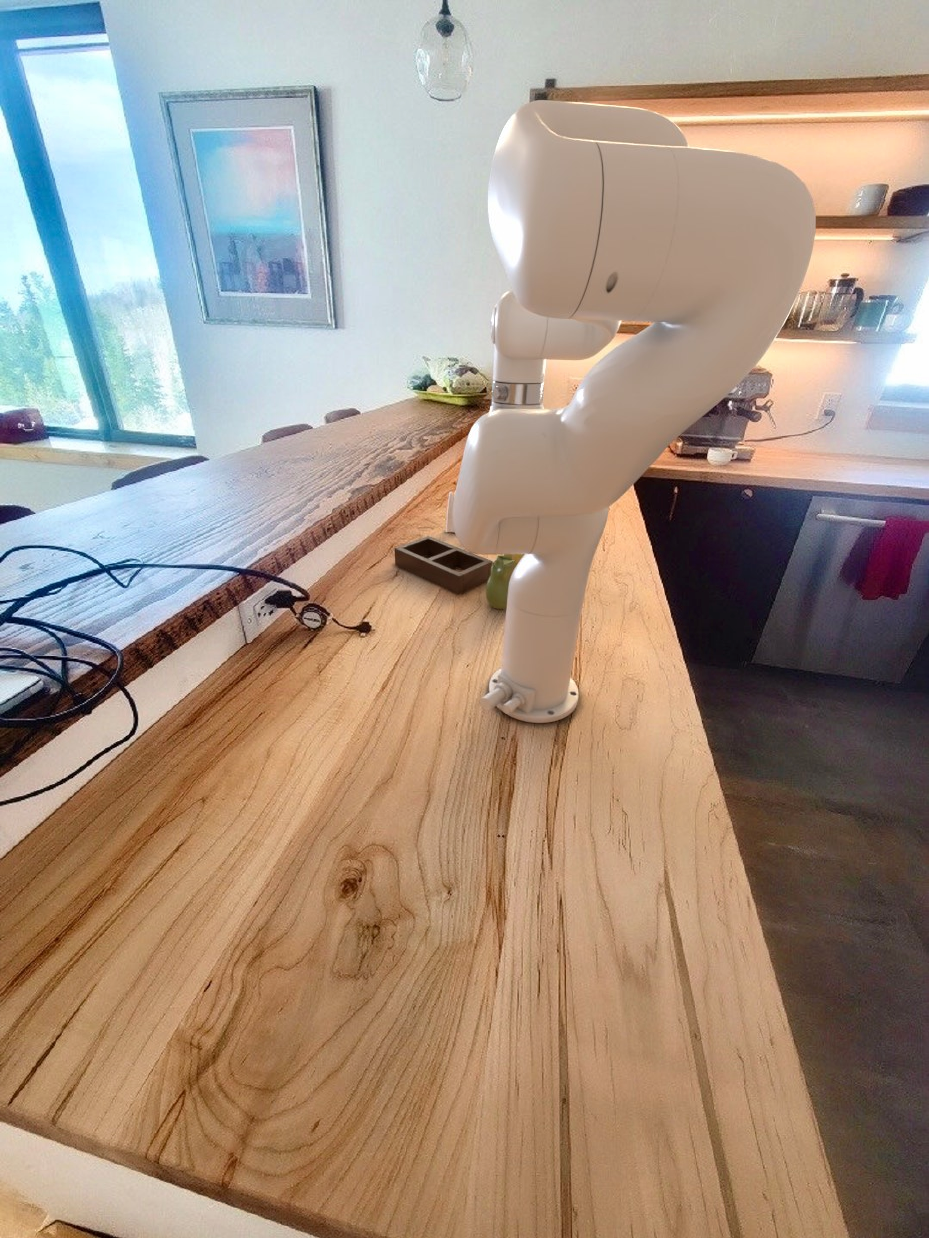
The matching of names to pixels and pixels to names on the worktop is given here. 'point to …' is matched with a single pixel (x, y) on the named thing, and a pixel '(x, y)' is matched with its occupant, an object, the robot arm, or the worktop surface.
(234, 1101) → the worktop surface
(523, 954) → the worktop surface
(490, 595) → the pear
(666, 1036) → the worktop surface
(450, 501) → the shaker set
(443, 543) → the divided tray
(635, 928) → the worktop surface
